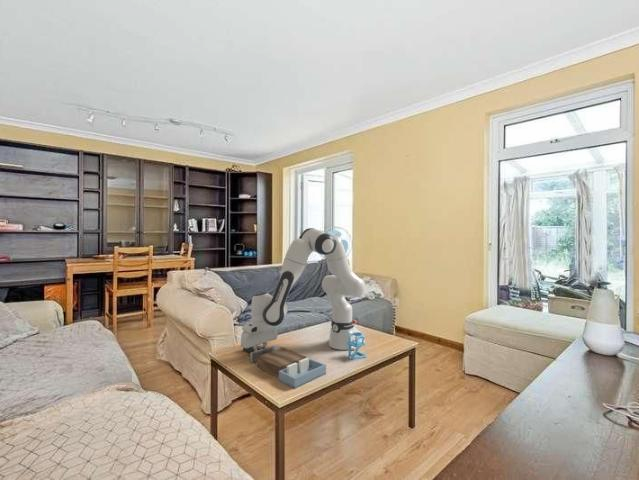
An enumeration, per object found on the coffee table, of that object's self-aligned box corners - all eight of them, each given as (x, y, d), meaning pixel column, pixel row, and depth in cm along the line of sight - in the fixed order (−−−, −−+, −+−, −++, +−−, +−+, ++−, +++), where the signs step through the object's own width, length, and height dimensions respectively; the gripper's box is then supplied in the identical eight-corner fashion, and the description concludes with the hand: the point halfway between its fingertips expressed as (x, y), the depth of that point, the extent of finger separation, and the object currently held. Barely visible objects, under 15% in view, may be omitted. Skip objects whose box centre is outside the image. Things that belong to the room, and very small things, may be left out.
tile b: (295, 362, 140) (297, 363, 139) (295, 373, 140) (297, 374, 139) (286, 365, 137) (288, 367, 136) (286, 377, 137) (288, 378, 136)
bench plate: (283, 357, 160) (283, 347, 160) (306, 367, 149) (306, 356, 149) (257, 367, 148) (257, 356, 148) (279, 378, 137) (280, 366, 137)
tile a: (306, 357, 146) (308, 358, 145) (306, 368, 146) (308, 369, 145) (298, 360, 142) (301, 361, 141) (298, 371, 142) (300, 373, 141)
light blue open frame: (344, 356, 163) (345, 333, 163) (356, 352, 168) (356, 330, 168) (355, 361, 157) (356, 337, 157) (367, 357, 162) (367, 333, 162)
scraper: (231, 354, 162) (231, 346, 162) (257, 346, 174) (257, 338, 174) (252, 362, 150) (252, 353, 150) (278, 353, 162) (278, 345, 162)
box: (309, 366, 149) (310, 358, 149) (325, 373, 143) (326, 364, 142) (278, 380, 135) (278, 371, 135) (294, 388, 129) (295, 378, 128)
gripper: (272, 319, 169) (271, 345, 170) (239, 327, 154) (238, 356, 154) (280, 322, 165) (279, 348, 165) (246, 330, 150) (246, 359, 150)
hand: (259, 352), depth 160 cm, fingers closed on scraper, 2 cm apart
